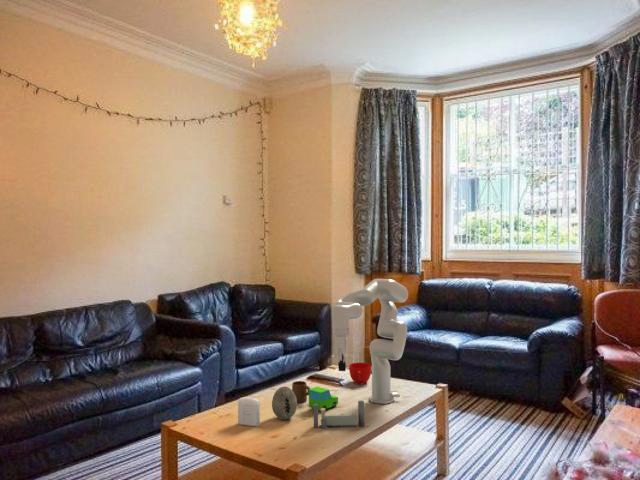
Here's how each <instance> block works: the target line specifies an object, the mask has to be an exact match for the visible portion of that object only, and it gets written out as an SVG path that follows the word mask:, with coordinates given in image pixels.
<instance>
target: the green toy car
mask: <svg viewBox="0 0 640 480" xmlns="http://www.w3.org/2000/svg"><path fill="white" fill-rule="evenodd" d="M313 404H318V411H320V412H321V408H325V412H326V410H327V409H329V408H332V409H334V408H336V407H337V405H338V404H339V397H338V396H335V395H332V394H331V391H330V389H328V388H325V387H320V386H314V387H312V388H310V389H309V395H308V408H310V409H312V410H313Z"/></svg>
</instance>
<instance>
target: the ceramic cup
mask: <svg viewBox="0 0 640 480" xmlns="http://www.w3.org/2000/svg"><path fill="white" fill-rule="evenodd" d="M348 370H349V377H350V378H351V380H352V381H353V382H354V383H355V384H356V385H364V384H366V383H367V382H368V381H369V379H370V378H371V376H372V364H370V363H367V362H352V363H350V364H349V365H348Z"/></svg>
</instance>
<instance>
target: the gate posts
mask: <svg viewBox="0 0 640 480" xmlns="http://www.w3.org/2000/svg"><path fill="white" fill-rule="evenodd" d="M312 410H313V429H318V428H319V429H321V430H327V429H328V428H329V429H331V428H334V429H335V428H358V427H360V428H365V427H366V426H365V421H366V420H365V419H366V416H365V413H366V412H365V401H364V400H358V401H357V412H358V417H357V418H358V421H357V422H358V423H356V425H327V420H326V419H320V424H319V410H318V404H313V409H312Z"/></svg>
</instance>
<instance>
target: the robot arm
mask: <svg viewBox="0 0 640 480" xmlns="http://www.w3.org/2000/svg"><path fill="white" fill-rule="evenodd" d="M408 298H409V291H408V289H407V288H406V286H405V285H402V284H401V283H399V282H397V280H394V279H390V278H374V279H372V280H371V281H369V283H367V284H366V285H365V286H364V287H362V289H360V290H356V291H354V292H352V293H351V292H350V293H348V294H346V295H344V296H342V297H341V298H339V299H338V300H337V301H336V302H335V303H334V305H333V306H332V308H331V309H332V310H331V313H332V317H331V318H332V336H334V358H337V359H338V361H337V362H338V372H346V369H347V367H346V366H347V365H346V364H347V363H346V356H347V353H348V336H350V320H355V319H356V320H357V319H359V318H360V317H361V316H362V314H363V311H364V310H363V307H364V306H369V305H371V304H373V303H374V302H375V301H376V300H377V299H378V300H379V302H380V306H381V307H380V308H381V311H380V316H379V320H378V325H377V328H376V333H377V335H378V336H379V337H382V339H381V338H375V339H373V340H372V341H371V342H370V344H369V354H370V358H371V359H370V360H371V394H372V395H370V396H369V401H370V402H371V403H373V404H379V405H385V404H387V405H388V404H391V403H394V401H395V398H400V396H401V393H400V392H396V391H393V392H392V389H391V386H392V385H391V364H390V361H391V360H392V361H399V360H400V359H401V358H402V357H403V353H404V350H405V346H406V342H407V341H406V340H407V337H408V326H407V324H406V323H405V322H404V321H402V320H397V319H398V318H397V317H398V309H397V306H396V305H395V303H405V302H406V301H407V300H408ZM383 338H386V339H383ZM389 339H392V340H389ZM389 360H390V361H389Z"/></svg>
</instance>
